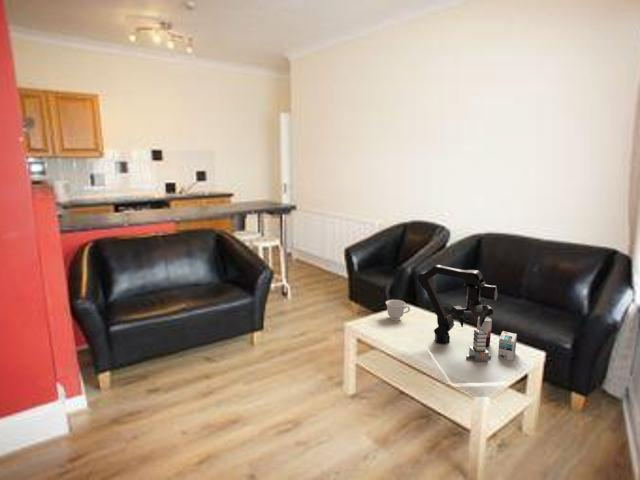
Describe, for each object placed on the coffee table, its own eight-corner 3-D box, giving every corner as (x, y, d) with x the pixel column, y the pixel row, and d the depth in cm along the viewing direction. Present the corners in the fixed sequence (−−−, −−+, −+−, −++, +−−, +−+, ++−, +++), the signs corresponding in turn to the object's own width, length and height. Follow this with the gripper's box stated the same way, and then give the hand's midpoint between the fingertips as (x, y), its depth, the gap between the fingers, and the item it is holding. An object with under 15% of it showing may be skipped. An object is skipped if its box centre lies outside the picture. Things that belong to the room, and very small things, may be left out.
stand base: (470, 367, 181) (471, 355, 180) (460, 355, 193) (461, 343, 192) (496, 367, 182) (497, 354, 181) (484, 354, 193) (485, 343, 192)
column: (476, 353, 184) (477, 333, 182) (472, 349, 188) (474, 329, 186) (485, 352, 184) (486, 333, 183) (481, 348, 188) (482, 329, 187)
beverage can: (492, 348, 199) (494, 320, 196) (479, 349, 199) (481, 321, 196) (485, 343, 206) (488, 315, 203) (473, 343, 205) (475, 316, 202)
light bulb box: (512, 363, 185) (514, 341, 183) (497, 359, 188) (498, 338, 186) (515, 354, 194) (517, 333, 192) (500, 350, 197) (502, 330, 195)
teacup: (405, 325, 229) (406, 308, 227) (381, 319, 237) (382, 304, 235) (412, 318, 239) (413, 302, 237) (390, 313, 247) (390, 298, 245)
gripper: (460, 302, 183) (458, 334, 186) (500, 301, 184) (497, 333, 187) (452, 294, 194) (450, 324, 197) (489, 293, 195) (486, 323, 198)
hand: (471, 326), depth 195 cm, fingers open, 9 cm apart
